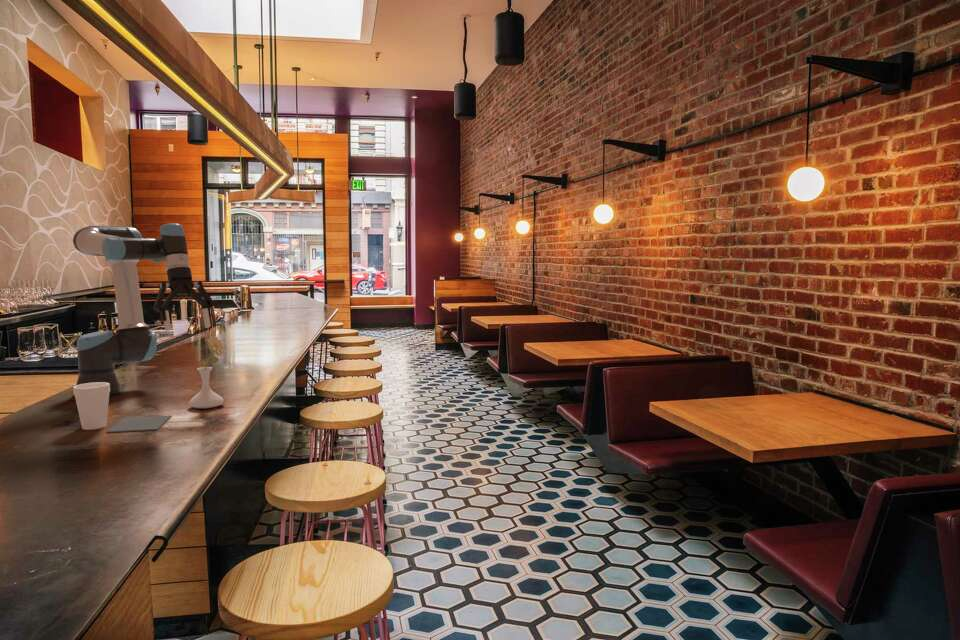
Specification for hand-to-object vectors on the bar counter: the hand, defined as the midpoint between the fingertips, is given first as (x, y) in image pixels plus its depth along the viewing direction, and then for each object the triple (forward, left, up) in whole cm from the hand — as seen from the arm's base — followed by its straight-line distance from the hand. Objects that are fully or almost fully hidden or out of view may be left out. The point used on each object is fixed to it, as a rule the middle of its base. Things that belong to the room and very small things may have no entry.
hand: (188, 328), depth 209 cm
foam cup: (+19, -24, -28) cm, 41 cm away
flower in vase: (-1, +5, -28) cm, 28 cm away
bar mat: (+19, -11, -28) cm, 35 cm away
